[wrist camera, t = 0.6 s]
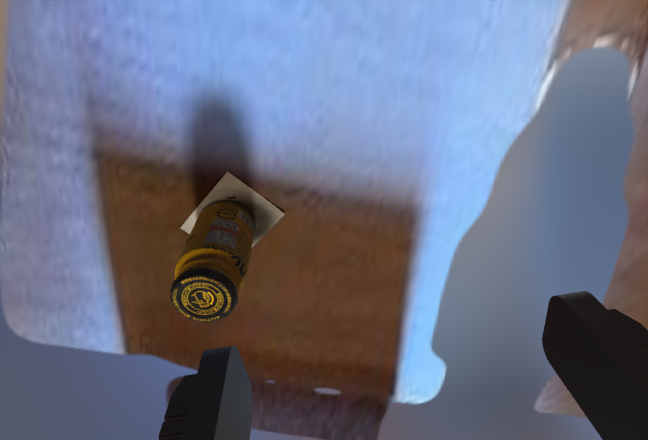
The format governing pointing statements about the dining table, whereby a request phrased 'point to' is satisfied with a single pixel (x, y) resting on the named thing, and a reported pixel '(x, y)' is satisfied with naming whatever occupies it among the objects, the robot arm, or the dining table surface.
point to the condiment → (220, 249)
